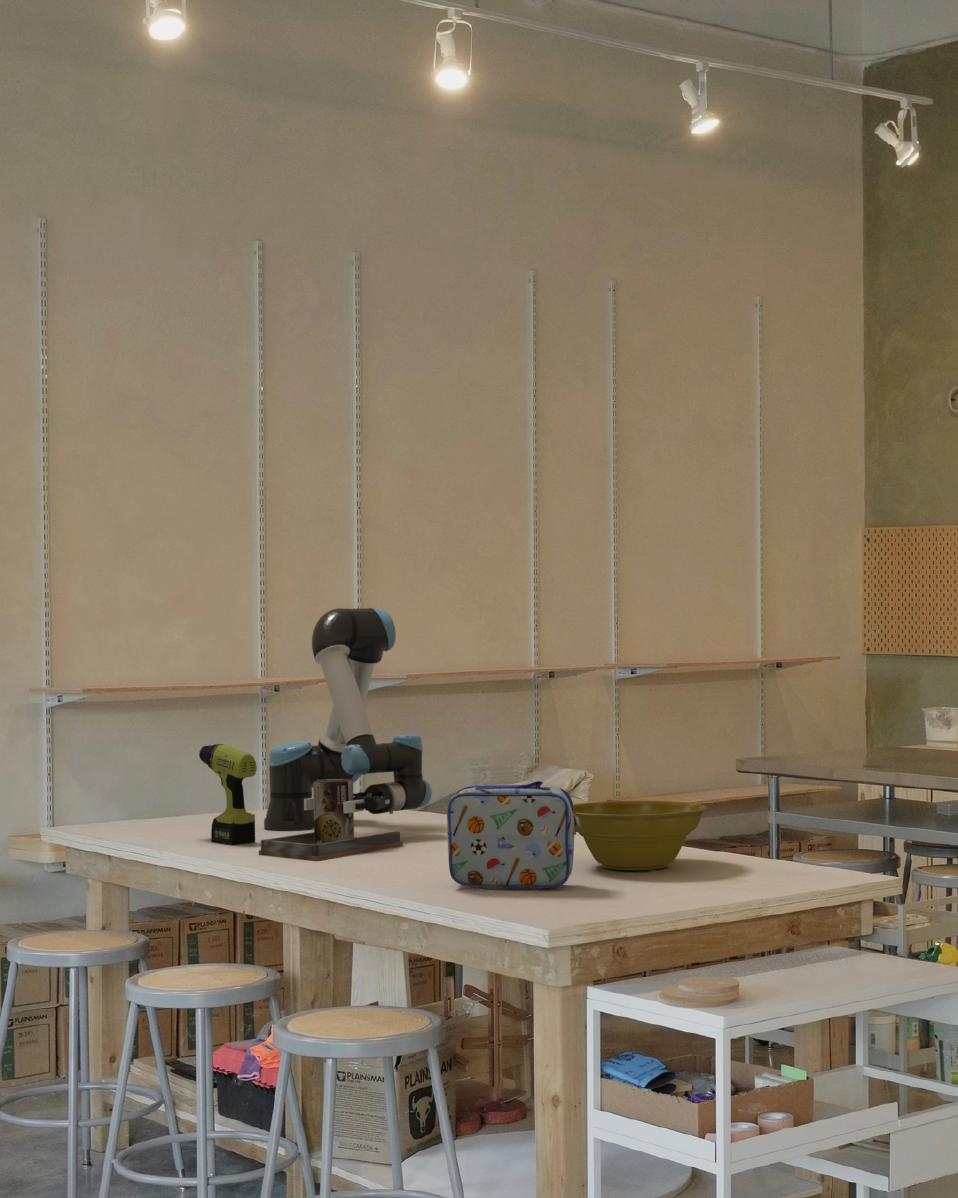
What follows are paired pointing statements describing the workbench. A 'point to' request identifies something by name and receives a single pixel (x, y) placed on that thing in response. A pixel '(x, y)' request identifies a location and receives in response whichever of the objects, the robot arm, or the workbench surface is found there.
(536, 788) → the lunch box
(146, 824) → the workbench surface
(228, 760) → the cordless drill
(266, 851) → the brown tray
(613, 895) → the workbench surface
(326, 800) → the coffee box
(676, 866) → the workbench surface
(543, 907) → the workbench surface
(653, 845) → the planter bowl
